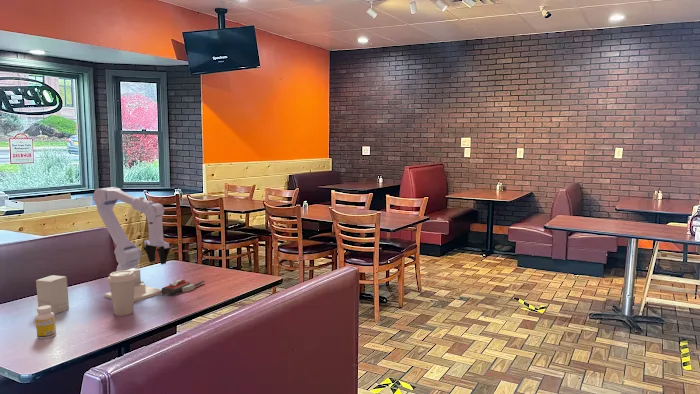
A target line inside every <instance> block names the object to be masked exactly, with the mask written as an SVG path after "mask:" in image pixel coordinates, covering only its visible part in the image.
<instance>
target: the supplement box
mask: <svg viewBox="0 0 700 394" xmlns="http://www.w3.org/2000/svg"><path fill="white" fill-rule="evenodd" d="M35 285H36V295H37V296H36V297H37V308H38V307H41V306H45V305H50V306H51V309H52V310H51V312H53V313H54V315H55V314H59V313H61V312H64V311H66V310H69V309H70V303H69V292H68V291H69V290H68V278H67V276H65V275H56V274H55V275H54V274H52V275H48V276H46V277H42V278H39V279H36V280H35Z"/></svg>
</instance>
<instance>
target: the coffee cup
mask: <svg viewBox="0 0 700 394" xmlns="http://www.w3.org/2000/svg"><path fill="white" fill-rule="evenodd" d="M135 278H136V276H135V274H134V272H133V271H129V270H123V271H116V270H115V271H112V272H111V273H109V275H108V277H107V282H109V289H110V292H111V296H112V299H111V301H112V307H113V314H114V316H117V317H122V316H128V315H131V314H134V310H135V309H134V307H135V302H134V284H135Z"/></svg>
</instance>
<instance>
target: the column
mask: <svg viewBox="0 0 700 394" xmlns="http://www.w3.org/2000/svg"><path fill="white" fill-rule="evenodd" d="M129 271H133V272H134V274H135V276H136V278H135V284H134V287H135V286H138V285H141V281H142V280H141V279H142V278H141V269H140V268H139V269H136V268H133V269H129Z"/></svg>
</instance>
